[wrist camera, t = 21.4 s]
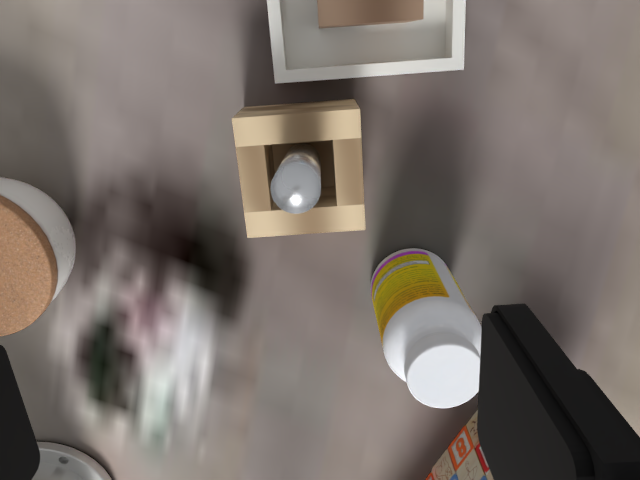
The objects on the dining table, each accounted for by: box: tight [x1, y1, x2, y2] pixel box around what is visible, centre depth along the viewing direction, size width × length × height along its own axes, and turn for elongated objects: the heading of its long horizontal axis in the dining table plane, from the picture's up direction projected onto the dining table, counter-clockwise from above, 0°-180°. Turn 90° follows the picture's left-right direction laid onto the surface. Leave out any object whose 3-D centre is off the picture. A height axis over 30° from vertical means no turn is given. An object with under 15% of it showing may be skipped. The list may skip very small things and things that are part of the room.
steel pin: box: [271, 143, 321, 214], centre depth 33 cm, size 3×3×12 cm
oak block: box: [232, 99, 365, 238], centre depth 37 cm, size 8×8×6 cm
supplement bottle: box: [371, 248, 482, 408], centre depth 37 cm, size 7×7×13 cm
